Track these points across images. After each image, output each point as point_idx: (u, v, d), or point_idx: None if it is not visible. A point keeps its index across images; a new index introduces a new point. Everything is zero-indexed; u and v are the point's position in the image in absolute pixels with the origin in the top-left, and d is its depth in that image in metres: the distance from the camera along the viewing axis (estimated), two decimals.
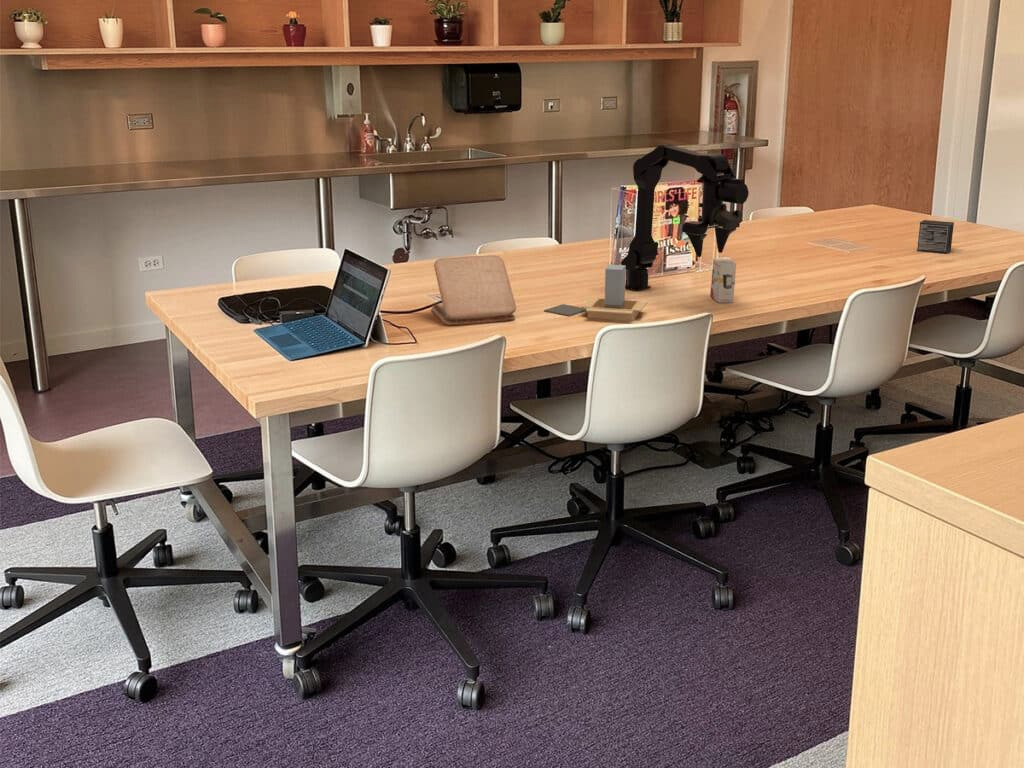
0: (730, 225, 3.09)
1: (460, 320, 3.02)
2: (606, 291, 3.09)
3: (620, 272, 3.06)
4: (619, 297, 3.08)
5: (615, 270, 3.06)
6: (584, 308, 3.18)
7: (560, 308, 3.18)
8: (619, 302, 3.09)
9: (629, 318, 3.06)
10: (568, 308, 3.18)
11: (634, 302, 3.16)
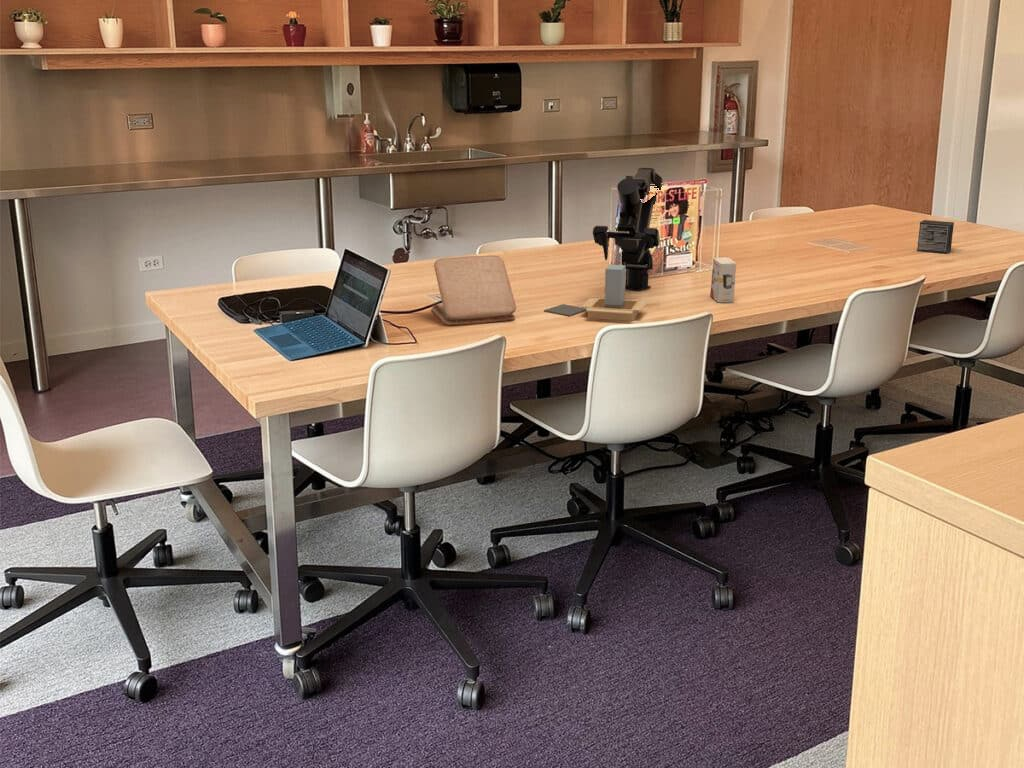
0: None
1: (460, 320, 3.02)
2: (606, 291, 3.09)
3: (620, 272, 3.06)
4: (619, 297, 3.08)
5: (615, 270, 3.06)
6: (584, 308, 3.18)
7: (560, 308, 3.18)
8: (619, 302, 3.09)
9: (629, 318, 3.06)
10: (568, 308, 3.18)
11: (634, 302, 3.16)
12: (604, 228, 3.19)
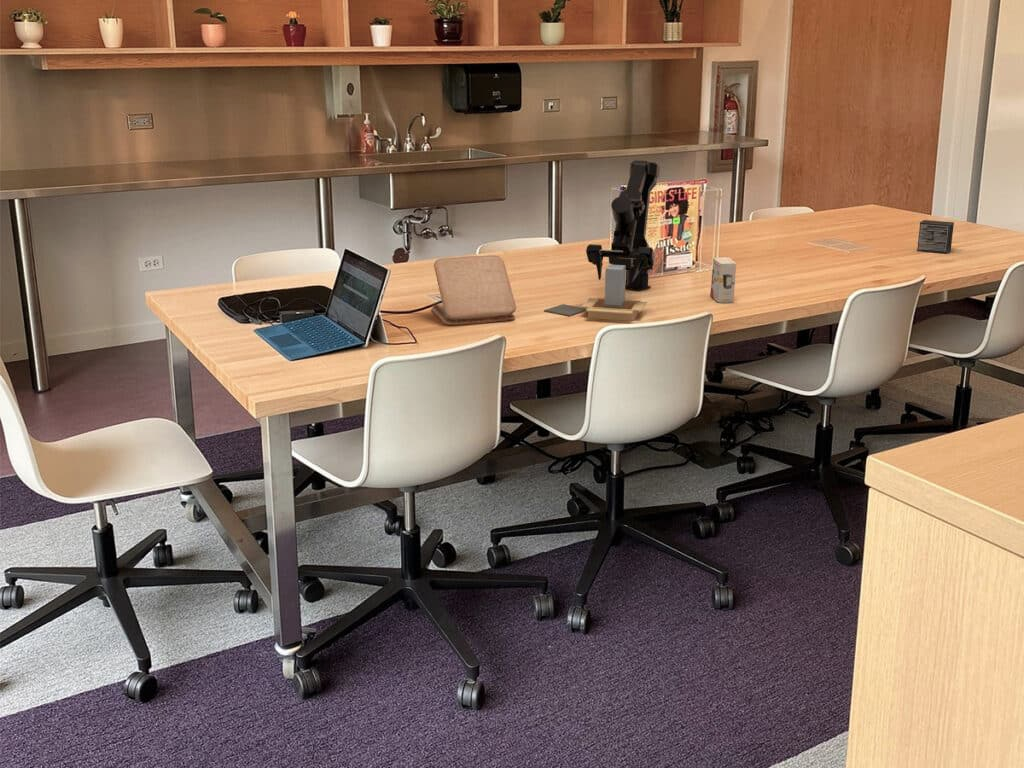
0: None
1: (460, 320, 3.02)
2: (606, 291, 3.09)
3: (620, 272, 3.06)
4: (619, 297, 3.08)
5: (615, 270, 3.06)
6: (584, 308, 3.18)
7: (560, 308, 3.18)
8: (619, 302, 3.09)
9: (629, 318, 3.06)
10: (568, 308, 3.18)
11: (634, 302, 3.16)
12: (598, 247, 3.13)
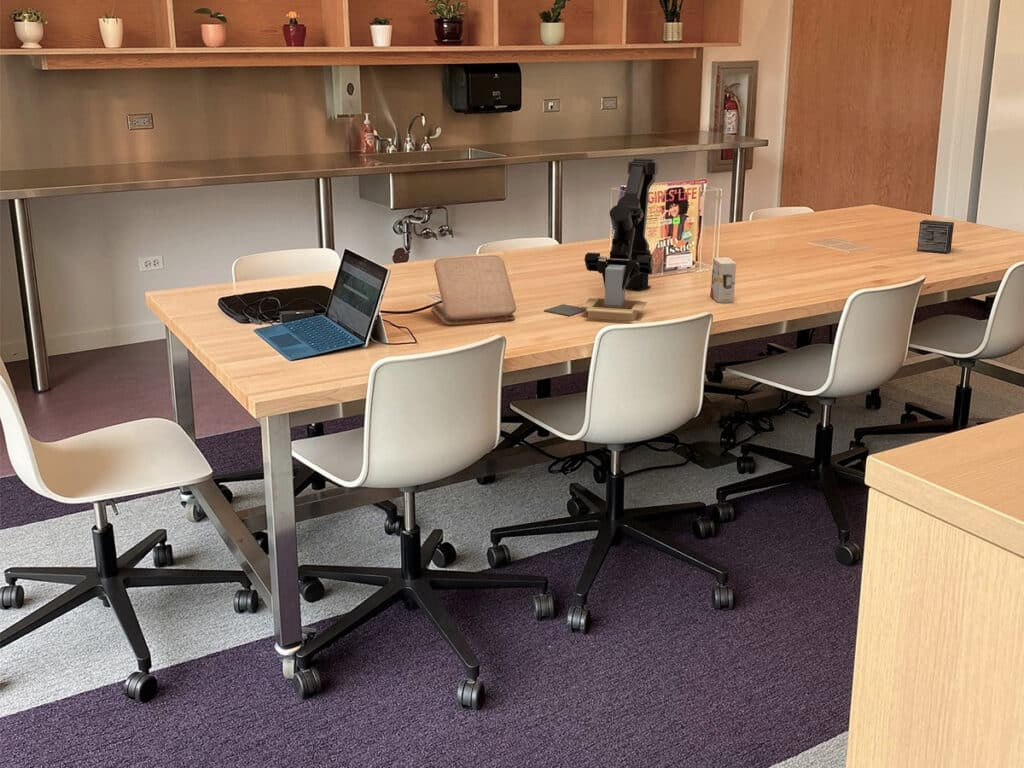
0: None
1: (460, 320, 3.02)
2: (606, 291, 3.09)
3: (620, 272, 3.06)
4: (619, 297, 3.08)
5: (615, 270, 3.06)
6: (584, 308, 3.18)
7: (560, 308, 3.18)
8: (619, 302, 3.09)
9: (629, 318, 3.06)
10: (568, 308, 3.18)
11: (634, 302, 3.16)
12: (596, 255, 3.12)
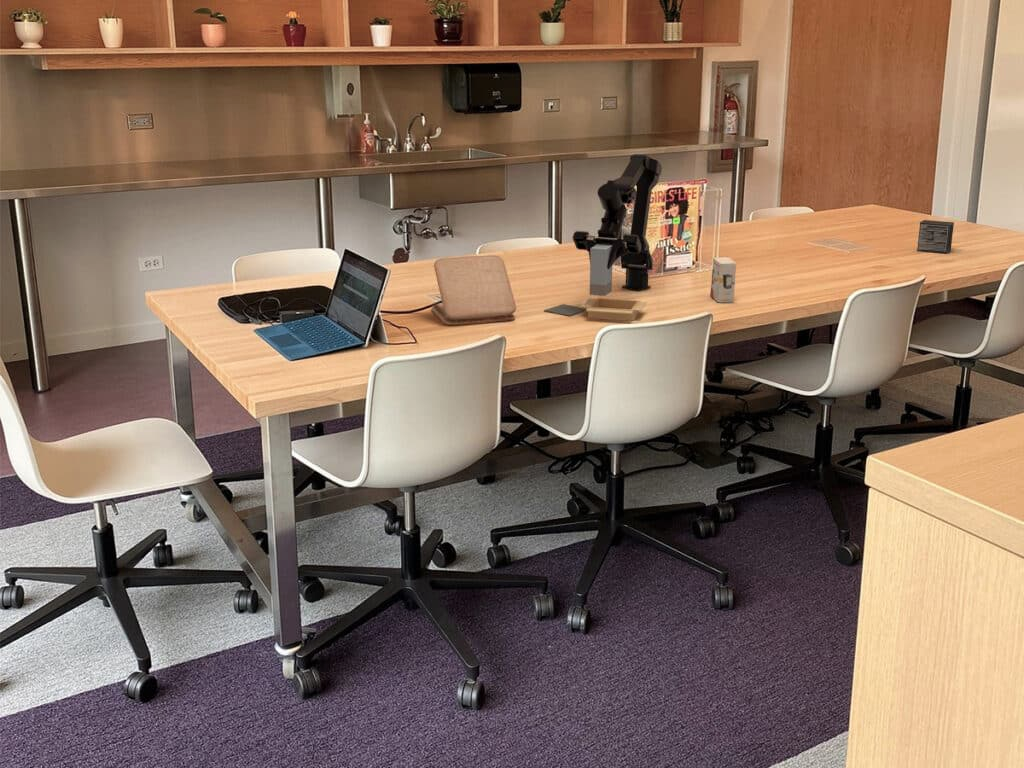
0: None
1: (460, 320, 3.02)
2: (591, 271, 3.08)
3: (605, 252, 3.05)
4: (604, 277, 3.07)
5: (600, 249, 3.05)
6: (584, 308, 3.18)
7: (560, 308, 3.18)
8: (604, 282, 3.07)
9: (629, 318, 3.06)
10: (568, 308, 3.18)
11: (634, 302, 3.16)
12: (584, 234, 3.11)
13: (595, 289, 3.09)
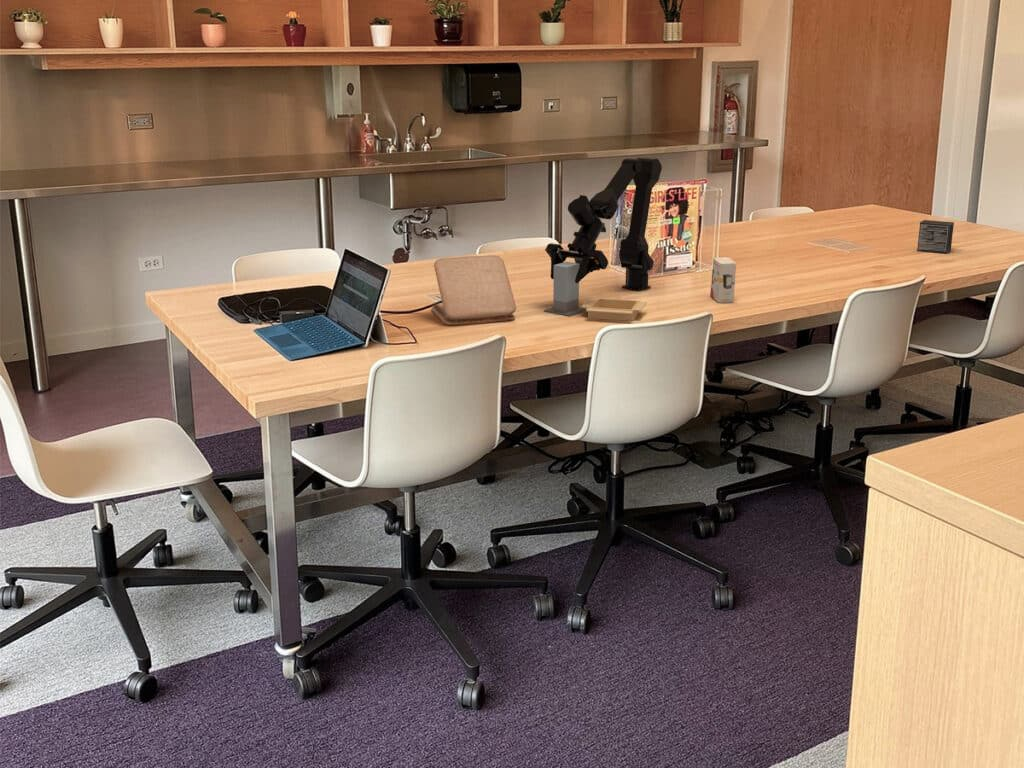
0: None
1: (460, 320, 3.02)
2: (554, 287, 3.14)
3: (565, 269, 3.10)
4: (565, 294, 3.12)
5: (561, 267, 3.10)
6: (584, 308, 3.18)
7: None
8: (565, 299, 3.12)
9: (629, 318, 3.06)
10: None
11: (634, 302, 3.16)
12: (555, 246, 3.17)
13: (558, 305, 3.14)
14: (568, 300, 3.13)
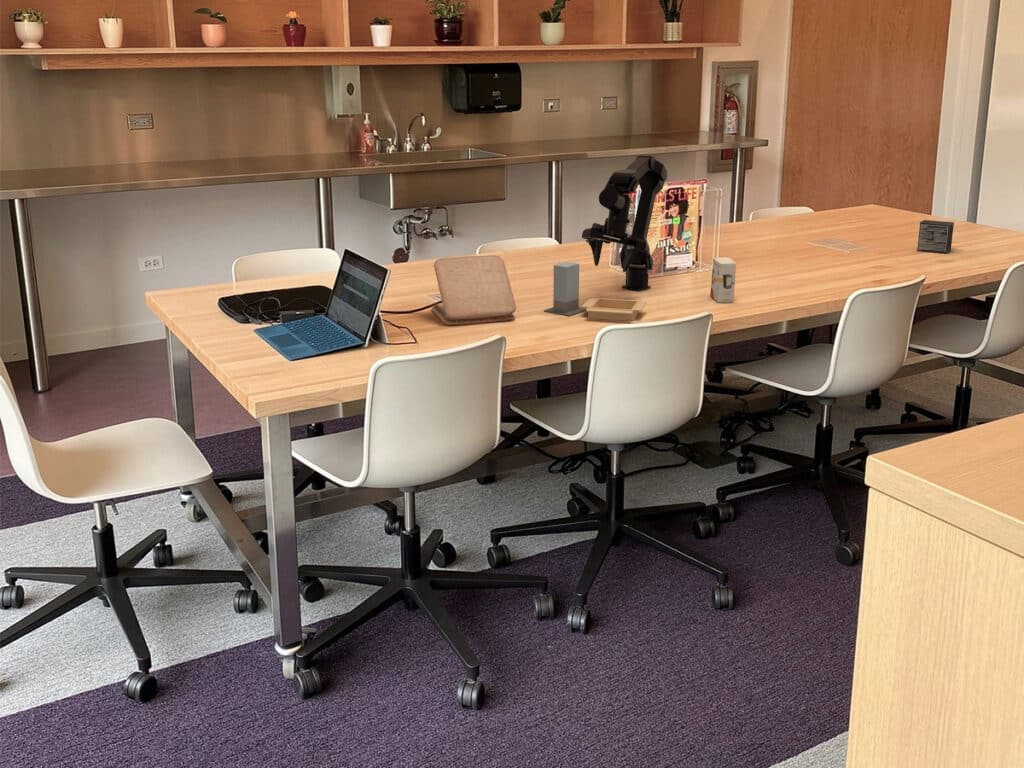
0: None
1: (460, 320, 3.02)
2: (554, 287, 3.14)
3: (565, 269, 3.10)
4: (565, 294, 3.12)
5: (561, 267, 3.10)
6: (584, 308, 3.18)
7: None
8: (565, 299, 3.12)
9: (629, 318, 3.06)
10: None
11: (634, 302, 3.16)
12: (601, 234, 3.16)
13: (558, 305, 3.14)
14: (568, 300, 3.13)
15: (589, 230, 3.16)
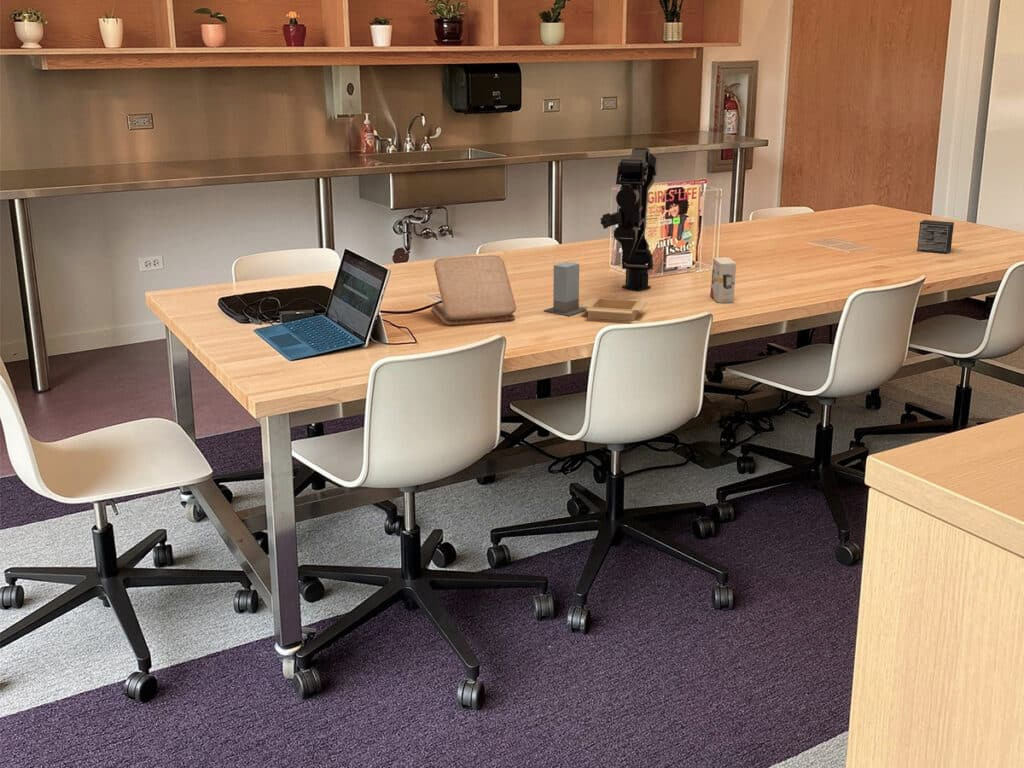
0: None
1: (460, 320, 3.02)
2: (554, 287, 3.14)
3: (565, 269, 3.10)
4: (565, 294, 3.12)
5: (561, 267, 3.10)
6: (584, 308, 3.18)
7: None
8: (565, 299, 3.12)
9: (629, 318, 3.06)
10: None
11: (634, 302, 3.16)
12: (637, 232, 3.15)
13: (558, 305, 3.14)
14: (568, 300, 3.13)
15: (630, 231, 3.12)
